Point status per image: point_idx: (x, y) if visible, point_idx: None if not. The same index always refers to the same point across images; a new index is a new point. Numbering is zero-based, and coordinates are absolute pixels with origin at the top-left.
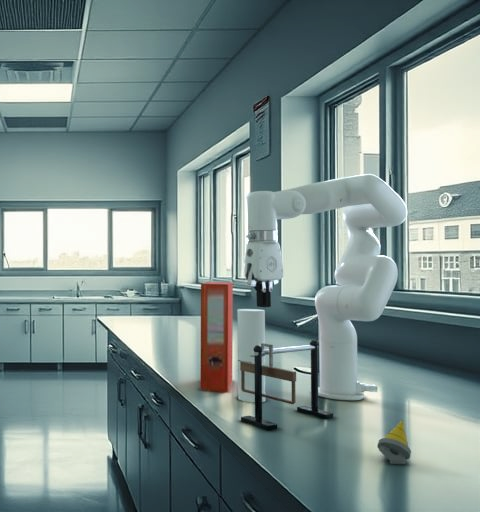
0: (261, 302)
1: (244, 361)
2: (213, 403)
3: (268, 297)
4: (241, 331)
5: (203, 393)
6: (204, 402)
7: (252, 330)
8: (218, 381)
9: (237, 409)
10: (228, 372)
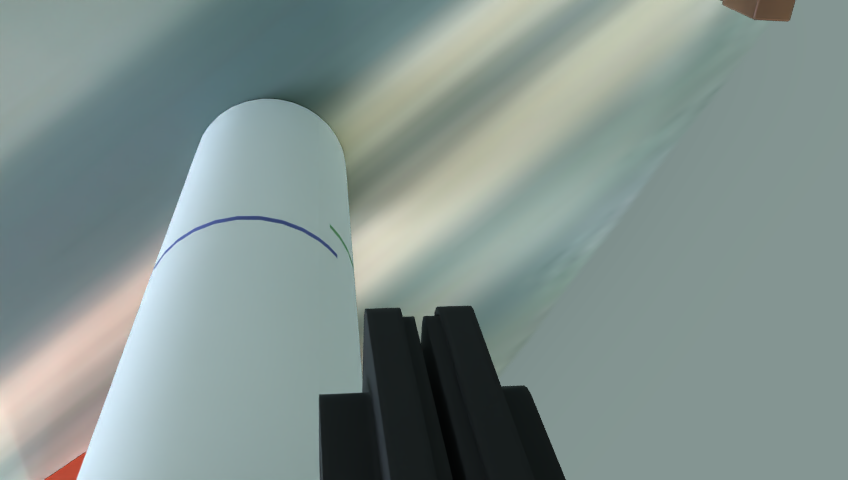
0: (524, 406)
1: (762, 5)
2: (524, 204)
3: (434, 417)
4: None
5: None
6: (545, 238)
7: (325, 371)
8: None
9: (524, 60)
10: None
